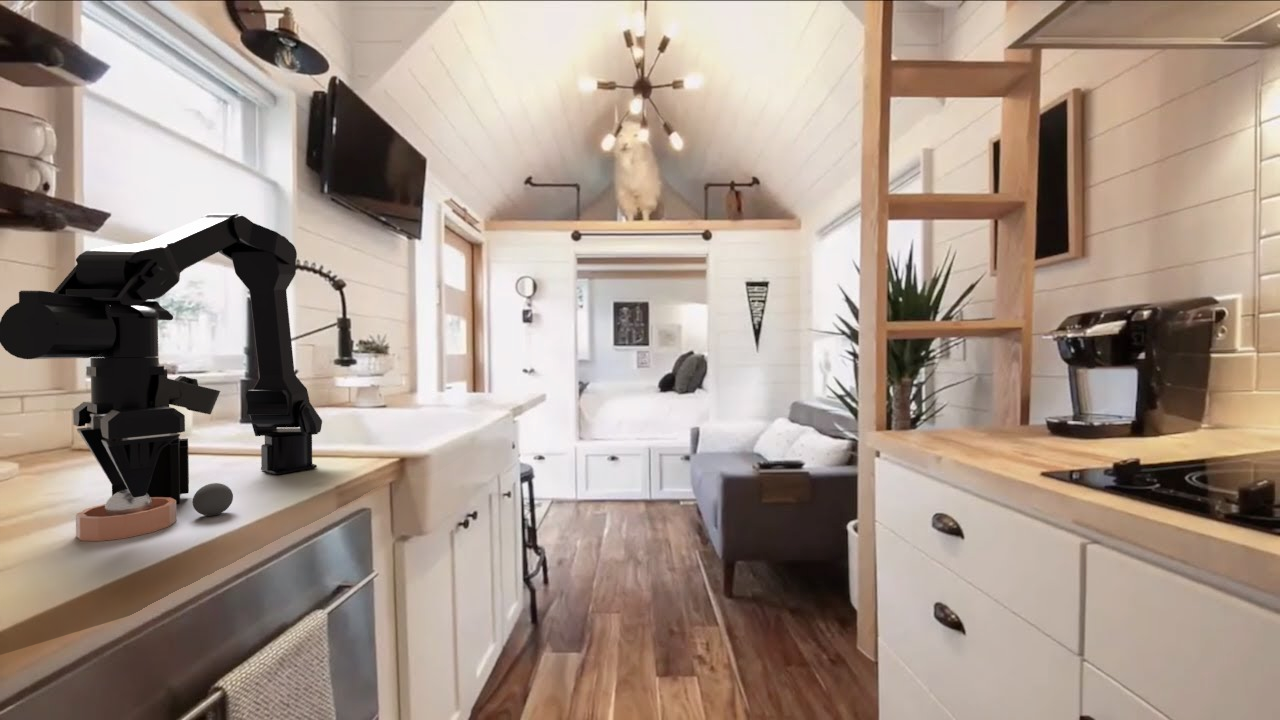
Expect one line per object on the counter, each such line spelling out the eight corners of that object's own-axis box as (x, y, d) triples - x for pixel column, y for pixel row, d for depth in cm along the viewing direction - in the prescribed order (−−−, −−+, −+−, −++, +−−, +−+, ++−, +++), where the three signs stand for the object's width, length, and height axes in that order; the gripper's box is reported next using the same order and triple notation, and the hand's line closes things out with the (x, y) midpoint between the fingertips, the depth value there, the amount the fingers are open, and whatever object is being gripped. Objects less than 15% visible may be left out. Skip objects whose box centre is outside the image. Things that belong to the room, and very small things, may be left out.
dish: (163, 512, 68) (163, 493, 68) (184, 525, 63) (184, 504, 63) (70, 531, 61) (70, 509, 61) (86, 546, 56) (85, 523, 56)
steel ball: (146, 515, 65) (146, 482, 65) (156, 521, 62) (155, 488, 62) (101, 524, 61) (100, 490, 61) (109, 531, 59) (108, 496, 59)
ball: (226, 508, 70) (226, 478, 70) (238, 513, 67) (237, 482, 67) (188, 516, 66) (187, 484, 66) (199, 522, 64) (198, 489, 64)
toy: (107, 403, 66) (118, 398, 74) (109, 515, 67) (120, 498, 74) (185, 400, 71) (188, 395, 79) (187, 504, 71) (190, 489, 79)
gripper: (238, 357, 63) (240, 487, 63) (187, 356, 73) (189, 467, 74) (108, 359, 54) (111, 511, 54) (71, 357, 64) (73, 483, 65)
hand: (128, 490), depth 62 cm, fingers open, 9 cm apart
